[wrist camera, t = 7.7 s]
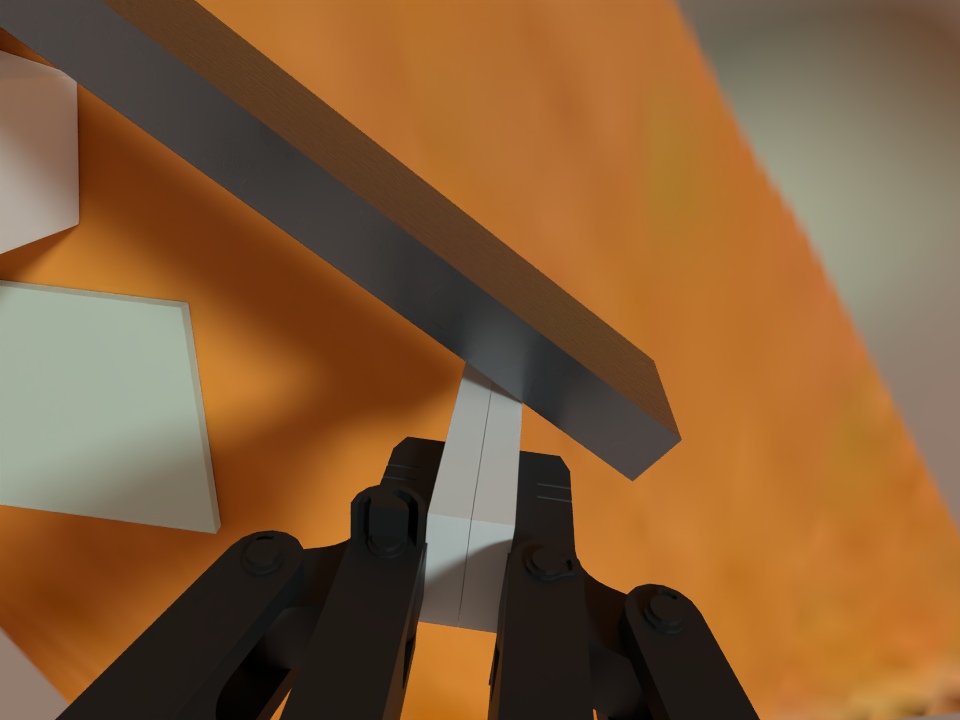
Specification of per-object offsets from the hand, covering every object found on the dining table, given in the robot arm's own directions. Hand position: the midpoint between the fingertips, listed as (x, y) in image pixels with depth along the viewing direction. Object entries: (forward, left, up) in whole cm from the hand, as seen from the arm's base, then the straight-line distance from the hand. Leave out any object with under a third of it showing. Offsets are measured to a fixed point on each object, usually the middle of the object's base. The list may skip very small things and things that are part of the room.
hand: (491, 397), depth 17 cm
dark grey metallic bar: (-6, -6, -2) cm, 9 cm away
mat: (+9, -20, -9) cm, 24 cm away
